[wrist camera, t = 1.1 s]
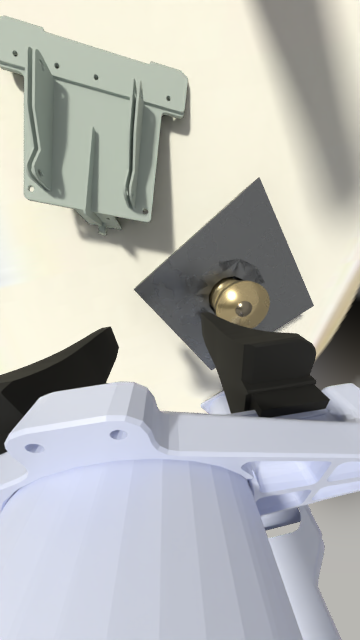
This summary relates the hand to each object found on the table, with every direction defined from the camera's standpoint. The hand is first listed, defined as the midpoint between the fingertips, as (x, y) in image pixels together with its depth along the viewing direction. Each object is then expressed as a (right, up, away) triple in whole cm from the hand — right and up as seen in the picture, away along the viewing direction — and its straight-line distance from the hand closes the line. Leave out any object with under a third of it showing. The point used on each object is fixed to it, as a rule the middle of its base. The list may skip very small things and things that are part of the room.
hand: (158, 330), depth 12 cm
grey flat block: (+8, +5, +9) cm, 13 cm away
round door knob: (+8, +5, +9) cm, 13 cm away
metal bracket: (-6, +18, +3) cm, 19 cm away
